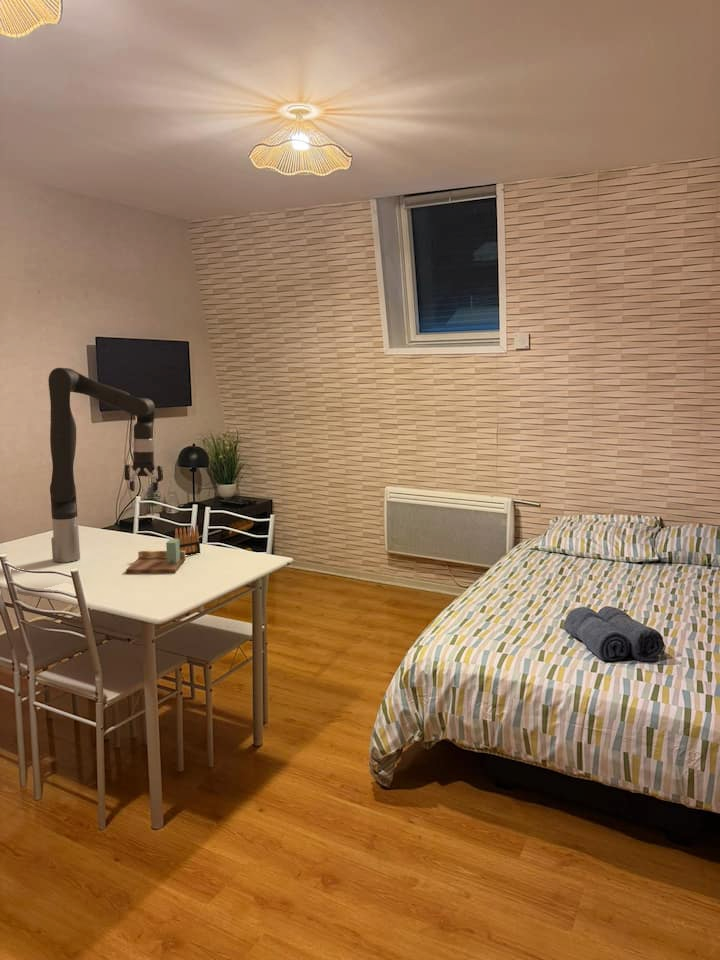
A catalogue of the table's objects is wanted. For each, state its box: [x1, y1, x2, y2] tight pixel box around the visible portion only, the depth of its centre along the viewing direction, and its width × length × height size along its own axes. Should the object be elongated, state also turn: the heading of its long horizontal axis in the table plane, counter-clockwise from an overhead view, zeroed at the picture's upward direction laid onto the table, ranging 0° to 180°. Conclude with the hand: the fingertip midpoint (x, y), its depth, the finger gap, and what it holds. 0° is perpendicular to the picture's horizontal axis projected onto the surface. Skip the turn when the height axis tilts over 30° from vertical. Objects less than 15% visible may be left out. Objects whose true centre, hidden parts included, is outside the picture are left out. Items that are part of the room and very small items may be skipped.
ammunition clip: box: [174, 524, 201, 556], centre depth 273 cm, size 11×2×12 cm, turn 132°
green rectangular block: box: [165, 538, 180, 563], centre depth 259 cm, size 4×7×8 cm, turn 2°
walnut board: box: [125, 550, 186, 574], centre depth 257 cm, size 18×17×4 cm
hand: (144, 491), depth 262 cm, fingers open, 8 cm apart
